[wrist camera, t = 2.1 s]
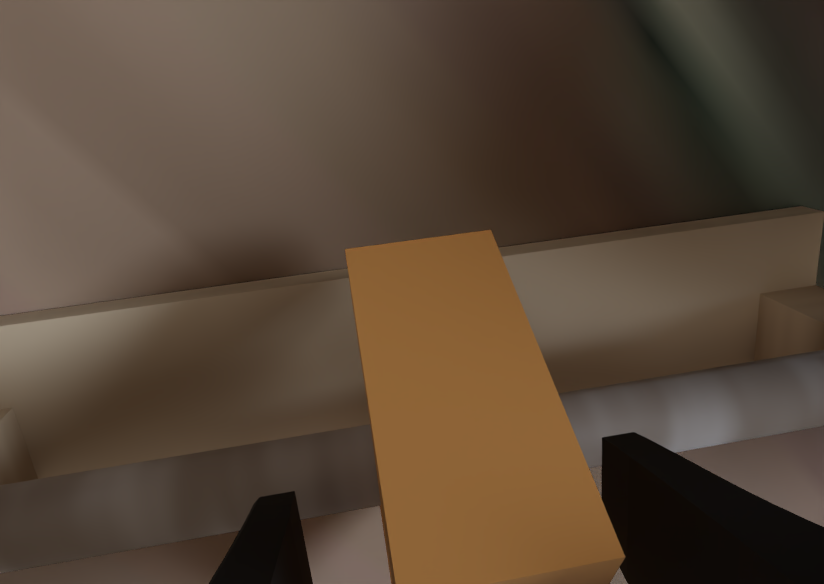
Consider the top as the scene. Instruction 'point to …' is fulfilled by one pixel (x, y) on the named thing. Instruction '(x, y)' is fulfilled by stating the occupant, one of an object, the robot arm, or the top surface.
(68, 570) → the top surface
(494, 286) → the block
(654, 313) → the stand
